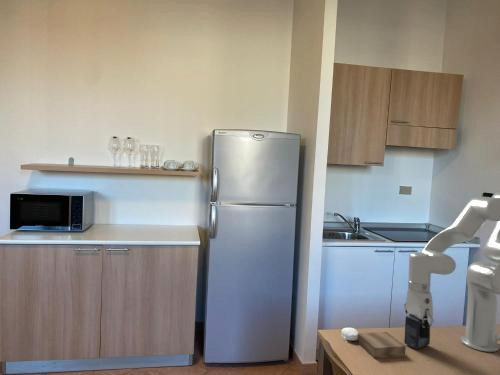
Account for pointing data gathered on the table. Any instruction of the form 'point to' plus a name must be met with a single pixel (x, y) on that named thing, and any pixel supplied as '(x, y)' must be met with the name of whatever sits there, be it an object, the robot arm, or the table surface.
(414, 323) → the box
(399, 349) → the walnut block
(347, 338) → the garlic
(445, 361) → the table surface
